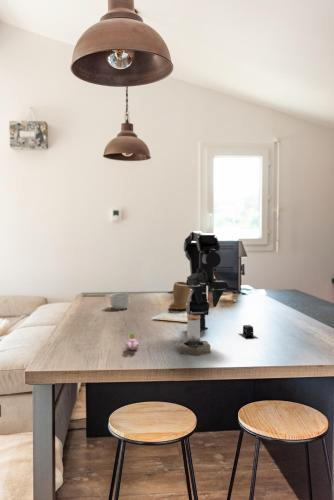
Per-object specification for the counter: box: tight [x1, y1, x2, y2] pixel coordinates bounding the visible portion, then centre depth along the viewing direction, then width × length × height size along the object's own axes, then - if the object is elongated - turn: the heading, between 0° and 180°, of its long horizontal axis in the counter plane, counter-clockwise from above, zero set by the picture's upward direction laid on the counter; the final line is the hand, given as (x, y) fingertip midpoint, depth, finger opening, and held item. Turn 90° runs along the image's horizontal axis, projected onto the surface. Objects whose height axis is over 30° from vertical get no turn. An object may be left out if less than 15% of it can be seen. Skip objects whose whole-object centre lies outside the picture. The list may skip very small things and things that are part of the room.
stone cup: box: [168, 280, 191, 310], centre depth 238 cm, size 15×12×15 cm
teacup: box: [109, 292, 131, 311], centre depth 240 cm, size 14×11×8 cm
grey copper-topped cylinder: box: [186, 314, 201, 346], centre depth 151 cm, size 5×5×12 cm
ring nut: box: [177, 339, 211, 356], centre depth 151 cm, size 11×12×2 cm
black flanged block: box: [238, 324, 259, 340], centre depth 173 cm, size 12×7×5 cm, turn 9°
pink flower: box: [123, 332, 142, 351], centre depth 154 cm, size 6×6×15 cm
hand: (206, 305), depth 169 cm, fingers open, 9 cm apart
